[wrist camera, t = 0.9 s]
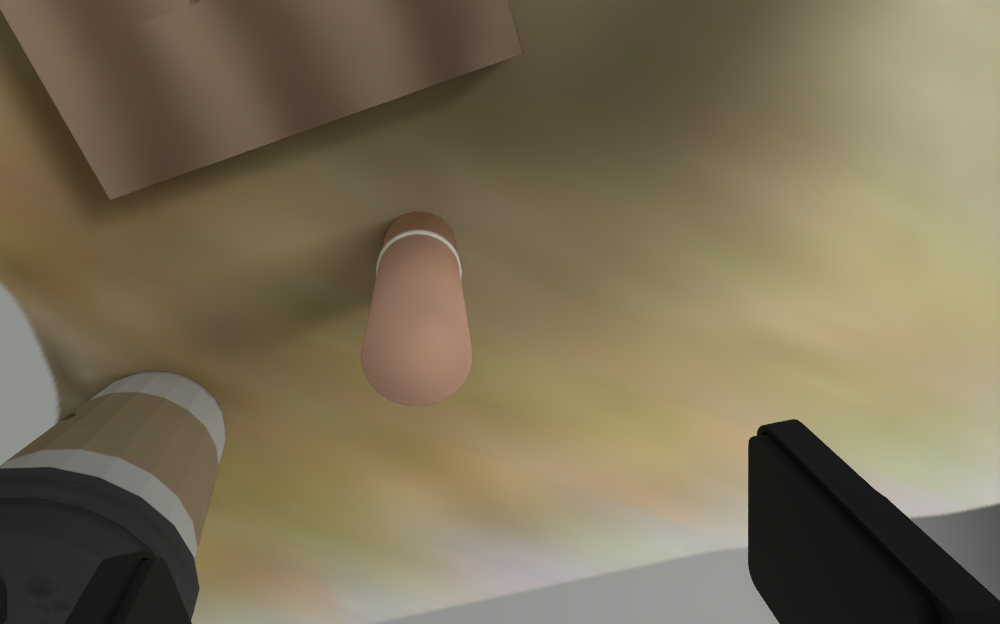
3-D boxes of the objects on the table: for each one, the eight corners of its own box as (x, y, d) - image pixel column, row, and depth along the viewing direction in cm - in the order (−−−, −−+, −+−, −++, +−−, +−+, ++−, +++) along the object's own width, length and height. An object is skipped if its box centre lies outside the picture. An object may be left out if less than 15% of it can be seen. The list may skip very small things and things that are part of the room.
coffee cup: (93, 303, 36) (-110, 465, 22) (292, 383, 39) (221, 569, 25) (34, 463, 39) (-175, 690, 26) (222, 525, 43) (126, 759, 29)
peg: (442, 199, 36) (452, 288, 23) (467, 268, 38) (490, 386, 25) (369, 224, 36) (339, 327, 23) (398, 292, 38) (384, 423, 25)
